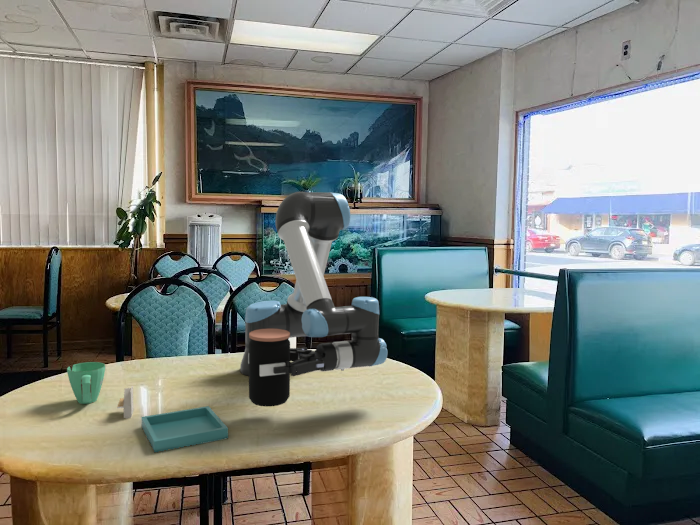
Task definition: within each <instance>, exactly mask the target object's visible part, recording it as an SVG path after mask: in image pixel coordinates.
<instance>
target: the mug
mask: <svg viewBox="0 0 700 525" xmlns="http://www.w3.org/2000/svg"><path fill="white" fill-rule="evenodd" d="M66 372H67V377H68V381H69V384H70V387H71V389H72V392H73V395H74V397H75V399H76V401H77V403H78V404H80V405H88V404H93V403H96V402H97V400H98V398H99V395H100V393H101V391H102V390H101V389H102V386H103V383H104V378H105V373H106V364H105V363H103V362H98V361H87V362H79V363H76V364H72V366H71V367H70V366H68V367H67V368H66ZM92 402H93V403H92Z"/></svg>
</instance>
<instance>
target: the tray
mask: <svg viewBox="0 0 700 525" xmlns="http://www.w3.org/2000/svg"><path fill="white" fill-rule="evenodd" d="M140 418H141V429H142V430H144V431H143V433H144V435H145V436H147V437H146V439H147V441H148V440H149V441H148V443H149V442H150V443H149V444H151V445H150V446H152V447H151V448H153V449H152V450H154V451H153V452H154V453H155V452H156V453H159V451H161V452H165V451H164V450H166V451H169V450H168V449H171V450H175V449H174V448H176V449H180V448H179V447H181V448H185V447H184V446H187V447H190V445H192V446H195V445H196V444H197V445H201V444H206V443H212V442H217V441H222V439H223V440H226V439H227V438H228V439H229V428H228V426H227V425H226V424H225V423H224V422H223V421H222V419H221V418H220V417H219V416H218V415H217V414H216V412H214V410H213V409H212V408H211V407H210V406H209V405H208V406H207V405H206V406H200V407H193V408H189V409H182V410H177V411H170V412H164V413H157V414H156V413H155V414H151V415H144V416H141V417H140ZM228 439H227V440H228Z"/></svg>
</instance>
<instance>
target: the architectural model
mask: <svg viewBox="0 0 700 525" xmlns="http://www.w3.org/2000/svg"><path fill="white" fill-rule="evenodd" d="M123 393H124V394H123V397H121V398H119V401H118V404H117V406H116V408H117V409H123V419H124V418H126V419H131V417H132V418H133V414H134V385H131V387H128V388H127V387H125V388H124V391H123Z"/></svg>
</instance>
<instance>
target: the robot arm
mask: <svg viewBox="0 0 700 525" xmlns="http://www.w3.org/2000/svg"><path fill="white" fill-rule="evenodd" d="M350 223H351V208H350V206H349V203H348V200H347V199H346V196H344V195H343V194H341V193H338V192H331V191H330V192H329V191H328V192H321V191H320V192H316V191H315V192H313V191H311V192H310V191H295V192H293V193H290V194H288V195H287V196H286V197H285V198H284V199H283V200H282V201H281V202H280V204H279V206H278V207H277V211H276V213H275V230H276V232H277V236H278V238H279V239H280V240H282V241H283V242H284V247H285V249H286V252H287V255H288V257H289V261H290V264H291V268H292V270H293V273H294V276H295V279H296V280H295V283H294V289H293V293H291V294H289V295H288V297H287V301H286V303H283V304H282V303H281V302H280V301H278V300H263V301H257V302H254V303H251V304H249V305H248V306H247V307H246V308H245V315H244V316H245V317H244V322H245V324H244V326H245V336H244V337H245V349H244V352H243V356H242V358H241V362H240V367H239V368H240V369H239V370H240V373H241V374H242V375H245V376H248V377H249V342H250V340H251V339H250V338H249V333H250V332H251V331H254V330H259V329H282V330H286V331H289V332H290V337H289V339H290V338H300V337H308V338H324V337H329V336H339V335H347V334H348V335H349V334H351V340H342V341H333V342H324V343H323V342H322V343H319V344H318V345H317V346H316V349H315V350H312V349H308V347H305V346H304V347H296V348H295V347H293V348H291V347H290V362H289V361H288V362H287V361H286V366H285V362H284V363H275V364H266V365H260V377H261V376H269V375H278V374H285V373H286V374H290V377H295V376H299V375H303V374H308V373H312V372H316V371H317V372H318V371H320V372H329V371H334V370H338V371H339V370H340V371H344V370H345V369H346V370H347V369H353V368H363V367H369V368H370V367H375V366H378V365H382V364H384V363H385V362H386V361H387V358H388V349H387V343H386V342H385V340H384V339H383V338H380V336H379V322H380V320H379V319H380V305H379V303H380V302H379V300H378V299H377V298H375V297H373V296H371V297H370V296H357V297H354V298H353V299H352V301H351V305H345V306H335V304H334V302H333V300H332V296H331V294H330V291H329V288H328V285H327V281H326V279H325V277H324V276H325V271H326V267H327V263H328V260H329V255H330V252H331V247H332V244H333V242H334V241H336V240H337V239H338V238H339V235H340V231H345V230H347V228H348V227H349V225H350Z"/></svg>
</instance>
